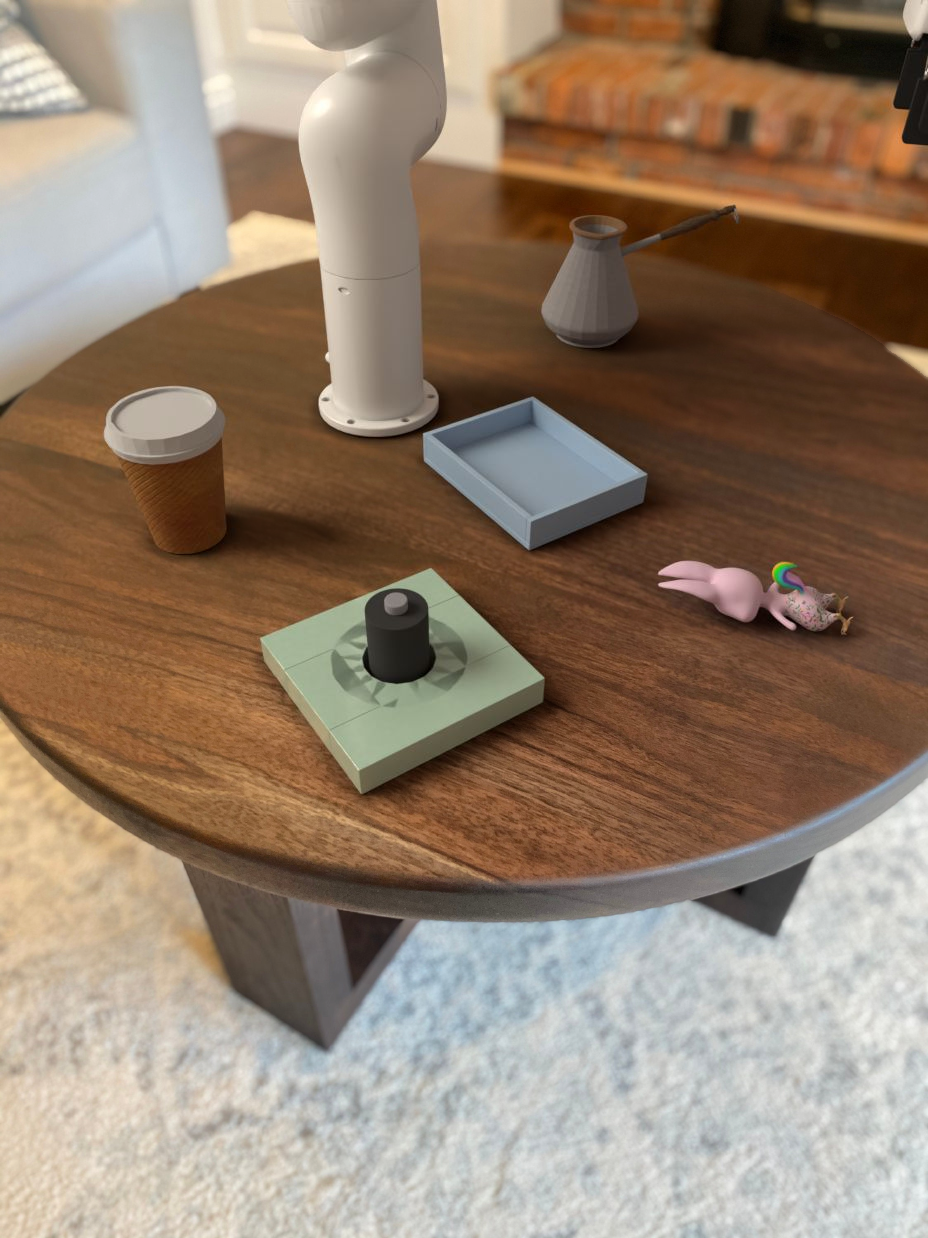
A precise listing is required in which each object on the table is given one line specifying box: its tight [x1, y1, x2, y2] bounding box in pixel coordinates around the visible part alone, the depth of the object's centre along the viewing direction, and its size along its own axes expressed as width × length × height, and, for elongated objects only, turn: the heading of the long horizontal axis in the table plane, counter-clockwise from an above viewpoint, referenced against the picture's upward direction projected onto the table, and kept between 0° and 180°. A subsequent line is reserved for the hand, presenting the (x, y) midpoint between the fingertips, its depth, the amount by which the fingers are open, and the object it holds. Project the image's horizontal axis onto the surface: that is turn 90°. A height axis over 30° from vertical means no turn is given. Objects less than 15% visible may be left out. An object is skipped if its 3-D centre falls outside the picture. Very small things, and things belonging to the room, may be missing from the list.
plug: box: [364, 588, 431, 684], centre depth 67 cm, size 4×4×8 cm
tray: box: [422, 396, 648, 551], centre depth 88 cm, size 17×13×3 cm
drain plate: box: [259, 567, 546, 795], centre depth 69 cm, size 15×15×2 cm
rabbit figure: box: [657, 560, 854, 636], centre depth 73 cm, size 6×6×15 cm
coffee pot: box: [540, 204, 740, 349], centre depth 108 cm, size 21×12×15 cm, turn 91°
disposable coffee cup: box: [103, 385, 228, 555], centre depth 79 cm, size 10×10×12 cm
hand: (918, 125), depth 69 cm, fingers open, 9 cm apart
